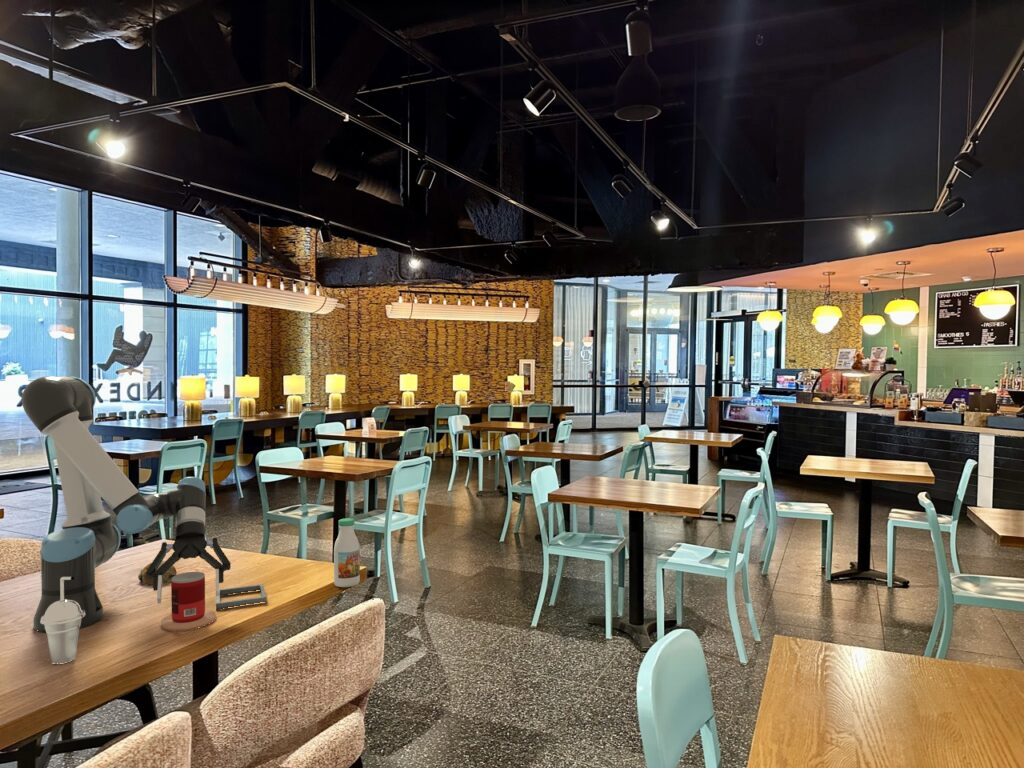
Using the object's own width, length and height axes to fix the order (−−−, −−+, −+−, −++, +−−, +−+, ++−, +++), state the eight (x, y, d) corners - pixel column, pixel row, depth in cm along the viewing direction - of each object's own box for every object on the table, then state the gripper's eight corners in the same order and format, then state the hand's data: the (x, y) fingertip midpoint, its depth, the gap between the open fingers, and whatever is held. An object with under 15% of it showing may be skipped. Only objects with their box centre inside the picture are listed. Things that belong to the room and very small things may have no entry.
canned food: (211, 613, 176) (211, 572, 176) (189, 624, 168) (189, 581, 168) (187, 611, 178) (187, 570, 178) (164, 621, 170) (164, 579, 170)
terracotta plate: (180, 635, 164) (180, 631, 164) (149, 624, 171) (149, 621, 171) (226, 618, 175) (226, 614, 175) (196, 609, 182) (196, 606, 182)
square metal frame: (266, 603, 187) (266, 597, 187) (215, 610, 181) (215, 603, 181) (263, 589, 198) (263, 583, 198) (215, 595, 193) (215, 589, 193)
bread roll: (158, 597, 203) (169, 574, 203) (128, 583, 203) (139, 559, 203) (175, 587, 213) (186, 564, 212) (147, 573, 213) (157, 551, 213)
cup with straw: (87, 650, 155) (86, 565, 155) (83, 665, 147) (83, 575, 147) (43, 657, 151) (42, 570, 151) (37, 673, 143) (36, 581, 143)
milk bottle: (329, 586, 201) (329, 521, 201) (341, 579, 209) (341, 516, 208) (352, 588, 199) (352, 522, 199) (364, 581, 207) (363, 517, 207)
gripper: (238, 530, 192) (240, 597, 179) (140, 539, 182) (134, 611, 169) (238, 515, 187) (240, 583, 174) (138, 523, 177) (132, 596, 164)
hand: (188, 597), depth 171 cm, fingers open, 13 cm apart
